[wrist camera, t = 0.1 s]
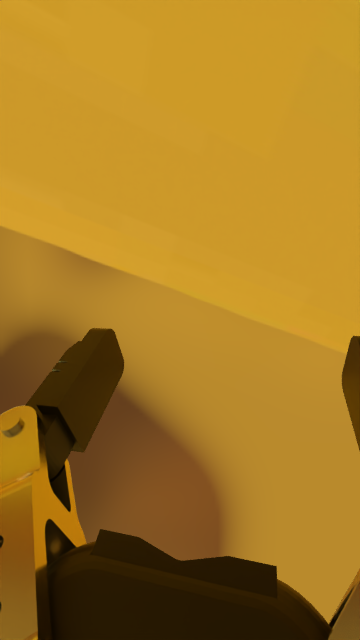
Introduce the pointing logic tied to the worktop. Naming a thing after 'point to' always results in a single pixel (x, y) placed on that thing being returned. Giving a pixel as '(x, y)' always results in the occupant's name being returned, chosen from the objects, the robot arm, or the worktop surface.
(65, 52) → the worktop surface
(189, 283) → the worktop surface
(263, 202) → the worktop surface
